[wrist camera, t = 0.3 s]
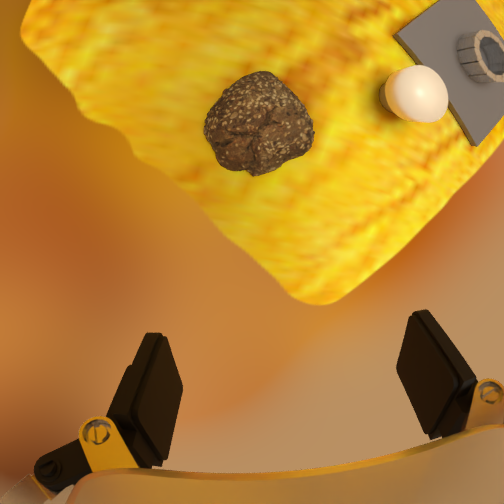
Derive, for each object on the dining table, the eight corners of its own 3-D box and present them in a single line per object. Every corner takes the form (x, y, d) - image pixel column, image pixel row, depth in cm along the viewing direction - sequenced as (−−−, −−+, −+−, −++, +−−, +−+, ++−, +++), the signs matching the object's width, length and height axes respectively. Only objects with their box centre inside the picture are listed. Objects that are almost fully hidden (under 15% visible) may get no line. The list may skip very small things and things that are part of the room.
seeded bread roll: (271, 61, 32) (273, 52, 28) (325, 141, 36) (335, 143, 32) (186, 117, 35) (176, 115, 30) (241, 193, 39) (239, 203, 34)
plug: (371, 69, 32) (399, 58, 24) (414, 80, 32) (448, 73, 24) (370, 116, 34) (398, 116, 26) (413, 124, 34) (447, 127, 26)
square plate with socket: (392, 36, 29) (412, 25, 24) (457, -14, 23) (477, -23, 18) (471, 145, 35) (495, 150, 29) (522, 83, 29) (544, 84, 23)
